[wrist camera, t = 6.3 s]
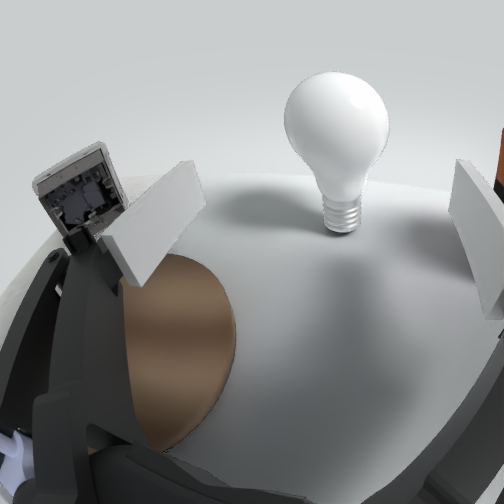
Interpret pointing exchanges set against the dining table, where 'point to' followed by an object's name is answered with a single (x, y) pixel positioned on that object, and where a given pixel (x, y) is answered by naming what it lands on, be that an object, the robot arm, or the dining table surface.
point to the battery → (500, 172)
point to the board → (176, 348)
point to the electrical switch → (82, 190)
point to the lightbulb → (338, 139)
